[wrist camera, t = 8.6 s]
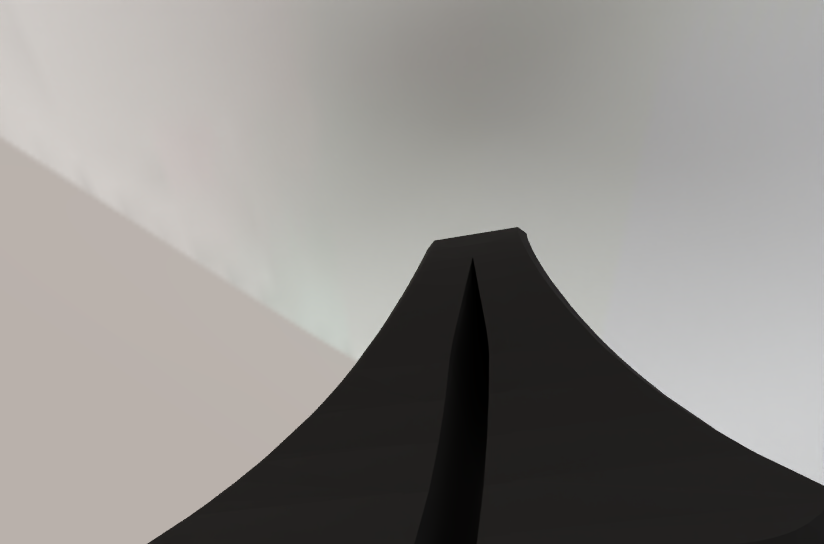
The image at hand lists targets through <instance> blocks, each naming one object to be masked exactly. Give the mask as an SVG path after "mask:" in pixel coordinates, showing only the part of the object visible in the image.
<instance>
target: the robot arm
mask: <svg viewBox="0 0 824 544" xmlns="http://www.w3.org/2000/svg"><path fill="white" fill-rule="evenodd" d="M148 544H824V486H823V485H821V484H819V483H817V482H815V481H813V480H811V479H809V478H807V477H805V476H803V475H801V474H798V473H796V472H794V471H792V470H790V469H788V468H786V467H784V466H782V465H780V464H778V463H776V462H774V461H771V460H769V459H767V458H765V457H763V456H761V455H759V454H757V453H755V452H753V451H751V450H750V449H748V448H746V447H744V446H742V445H741V444H739V443H737V442H736V441H734V440H732V439H730V438H729V437H727V436H725V435H724V434H722V433H720V432H718V431H717V430H715V429H714V428H712V427H711V426H710V425H708V424H707V423H705V422H704V421H702V420H701V419H699V418H698V417H696V416H695V415H693V414H692V413H690V412H689V411H688V410H686V409H685V408H683V407H682V406H680V405H679V404H677V403H676V402H674V401H673V400H671V399H670V398H668V397H667V396H666V395H664V394H663V393H662V392H661V391H659V390H658V389H657V388H656V387H654V386H653V385H652V384H651V383H649V382H648V381H647V380H646V379H644V378H643V377H642V376H641V375H639V374H638V373H637V372H636V371H635V370H634V369H632V368H631V367H630V366H629V365H628V364H627V363H626V362H624V361H623V360H622V359H621V358H620V357H619V356H618V355H617V354H616V353H615V352H613V351H612V350H611V349H610V348H609V347H608V346H607V345H606V344H605V343H604V342H603V341H602V340H601V339H600V338H599V337H598V336H597V335H596V334H595V332H594V331H593V330H592V329H591V328H590V327H589V326H588V325H587V324H586V323H585V322H584V321H583V319H582V318H581V317H580V316H579V315H578V314H577V313H576V311H575V310H574V309H573V308H572V307H571V306H570V304H569V303H568V302H567V300H566V299H565V298H564V296H563V295H562V294H561V293H560V291H559V290H558V289H557V287H556V286H555V285H554V284H553V282H552V281H551V279H550V278H549V276H548V275H547V274H546V272H545V270H544V269H543V267H542V266H541V264H540V262H539V261H538V259H537V257H536V256H535V254H534V252H533V250H532V248H531V246H530V243H529V241H528V238H527V234H526V233H525V232H524V231H522V230H521V229H520V228H518V227H516V228H509V229H503V230H497V231H491V232H485V233H479V234H472V235H466V236H460V237H454V238H448V239H442V240H435V241H434V242H433V243H432V244H431V246H430V247H429V248H428V250H427V252H426V254H425V256H424V258H423V259H422V261H421V263H420V265H419V267H418V269H417V271H416V272H415V274H414V276H413V278H412V280H411V281H410V283H409V285H408V287H407V288H406V290H405V292H404V293H403V295H402V297H401V298H400V300H399V301H398V303H397V305H396V306H395V308H394V309H393V311H392V313H391V314H390V316H389V317H388V319H387V321H386V322H385V324H384V325H383V327H382V328H381V330H380V331H379V333H378V334H377V335H376V337H375V338H374V340H373V341H372V342H371V344H370V345H369V346H368V348H367V349H366V351H365V352H364V353H363V355H362V356H361V357H360V359H359V360H358V362H357V363H356V364H355V366H354V367H353V368H352V370H351V371H350V372H349V373H348V374H347V376H346V377H345V378H344V380H343V381H342V382H341V383H340V384H339V385H338V387H337V388H336V389H335V390H334V391H333V392H332V393H331V394H330V395H329V397H328V398H327V399H326V400H325V401H324V402H323V404H321V405H320V407H318V409H317V410H316V411H315V412H314V413H313V414H312V415H311V416H310V417H309V418H308V419H306V420H305V421H304V422H303V423H302V424H301V425H300V426H299V427H298V428H297V429H296V430H295V431H294V432H293V433H292V434H291V435H289V436H288V437H287V438H286V439H285V440H284V441H283V442H282V443H281V444H280V445H279V446H278V447H277V448H276V449H274V450H273V451H272V452H271V453H270V454H269V455H268V456H267V457H265V458H264V459H263V460H262V461H261V462H260V463H258V464H257V465H256V466H255V467H254V468H252V469H251V470H250V471H249V472H247V473H246V474H245V475H244V476H242V477H241V478H240V479H239V480H238V481H237V482H235V483H234V484H232V485H231V486H230V487H228V488H227V489H226V490H224V491H223V492H222V493H220V494H219V495H218V496H217V497H215V498H214V499H213V500H211V501H210V502H209V503H207V504H206V505H204V506H203V507H202V508H200V509H199V510H197V511H196V512H195V513H193V514H192V515H191V516H189V517H187V518H186V519H184V520H183V521H181V522H180V523H178V524H177V525H175V526H174V527H172V528H171V529H169V530H168V531H166V532H165V533H163V534H162V535H160V536H159V537H157V538H155V539H154V540H152V541H151V542H149V543H148Z"/></svg>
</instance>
